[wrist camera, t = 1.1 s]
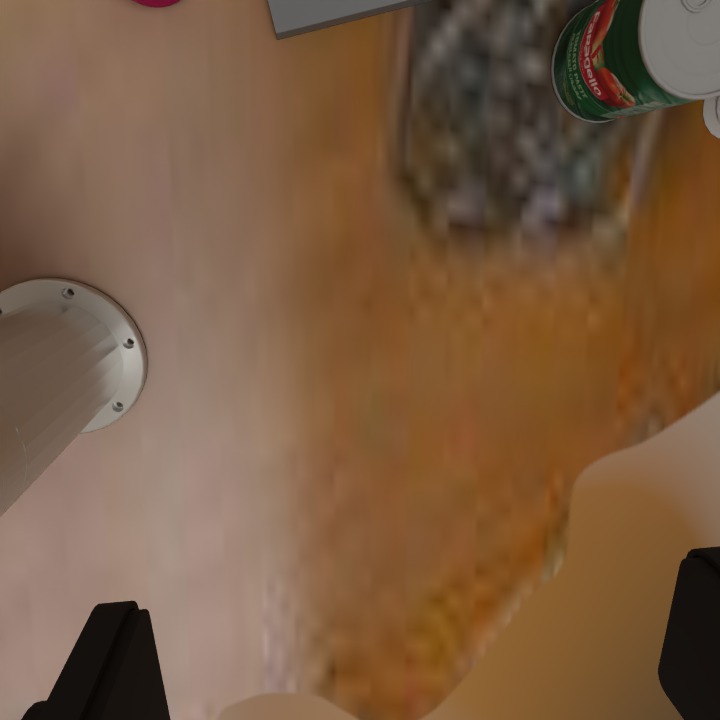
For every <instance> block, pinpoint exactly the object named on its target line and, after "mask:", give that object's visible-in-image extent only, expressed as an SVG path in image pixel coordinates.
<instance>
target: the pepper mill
mask: <svg viewBox="0 0 720 720" xmlns="http://www.w3.org/2000/svg"><path fill="white" fill-rule="evenodd" d="M133 1H135V2H137V3H139V4H142V5H146V6H149V7H164V6H169V5H172V4H174V3H176V2H178V1H179V0H133Z"/></svg>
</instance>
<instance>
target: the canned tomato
mask: <svg viewBox="0 0 720 720" xmlns="http://www.w3.org/2000/svg"><path fill="white" fill-rule="evenodd" d="M551 77H552V84H553V88H554V91H555V94H556V96H557V98H558V100H559V102H560V103H561V105H562V106H563V107H564V108H565V110H566V111H567V112H569V113H570V114H571V115H573V116H574V117H576V118H578V119H580V120H582V121H586V122H591V123H601V122H607V121H611V120H614V119H618V118H623V117H627V116H632V115H636V114H640V113H645V112H649V111H654V110H658V109H662V108H667V107H671V106H676V105H680V104H685V103H689V102H693V101H696V100H705V99H709V98H713V97H717V96H720V0H596V1H595V2H594V3H593V4H591V5H589V6H587V7H585V8H583V9H582V10H581V11H580V12H578V13H577V14H576V15H575V16H574V17H573V18H572V19H571V20H570V21H569V22H568V23H567V25H566V26H565V27H564V29H563V31H562V32H561V34H560V35H559V38H558V40H557V43H556V45H555V48H554V52H553V56H552V63H551Z"/></svg>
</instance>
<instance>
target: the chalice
mask: <svg viewBox="0 0 720 720" xmlns="http://www.w3.org/2000/svg"><path fill="white" fill-rule="evenodd" d="M703 117H704V121H705V125H706V126H707V128H708V130H709V131H710V133H711V134H713V135H714V136H716V137H717V138H720V96H717V97H713V98H709V99H705V101H704V107H703Z"/></svg>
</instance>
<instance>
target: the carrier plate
mask: <svg viewBox="0 0 720 720" xmlns="http://www.w3.org/2000/svg"><path fill="white" fill-rule="evenodd" d="M428 1H432V0H268V4H269V8H270V12H271V16H272V19H273V23H274V27H275V31H276V35H277V39H278V40H279V39H283V38H287V37H291V36H295V35H298V34H302V33H306V32H310V31H314V30H318V29H322V28H326V27H330V26H334V25H338V24H342V23H346V22H350V21H354V20H357V19H361V18H365V17H369V16H373V15H377V14H381V13H385V12H389V11H393V10H397V9H401V8H405V7H409V6H412V5H416V4H420V3H424V2H428Z"/></svg>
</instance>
